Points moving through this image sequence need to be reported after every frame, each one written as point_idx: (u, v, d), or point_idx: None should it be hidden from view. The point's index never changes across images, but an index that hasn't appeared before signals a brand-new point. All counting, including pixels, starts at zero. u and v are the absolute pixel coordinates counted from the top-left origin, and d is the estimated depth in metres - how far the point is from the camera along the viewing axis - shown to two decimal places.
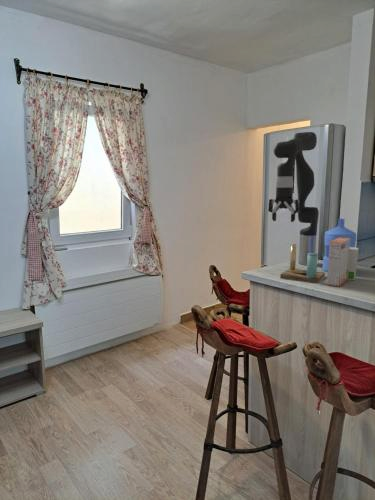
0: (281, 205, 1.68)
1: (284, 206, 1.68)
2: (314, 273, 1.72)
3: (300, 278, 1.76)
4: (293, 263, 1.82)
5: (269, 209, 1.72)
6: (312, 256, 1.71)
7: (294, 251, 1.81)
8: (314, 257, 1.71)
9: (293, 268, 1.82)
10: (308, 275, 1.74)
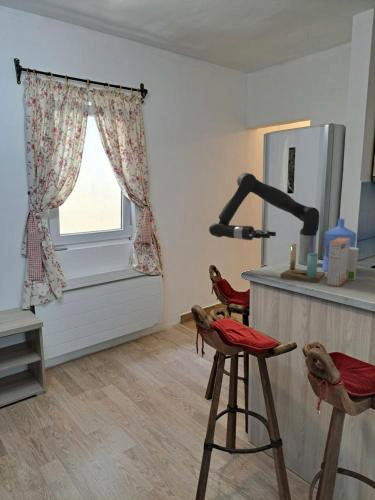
0: None
1: None
2: (314, 273, 1.72)
3: (300, 278, 1.76)
4: (293, 263, 1.82)
5: None
6: (312, 256, 1.71)
7: (294, 251, 1.81)
8: (314, 257, 1.71)
9: (293, 268, 1.82)
10: (308, 275, 1.74)
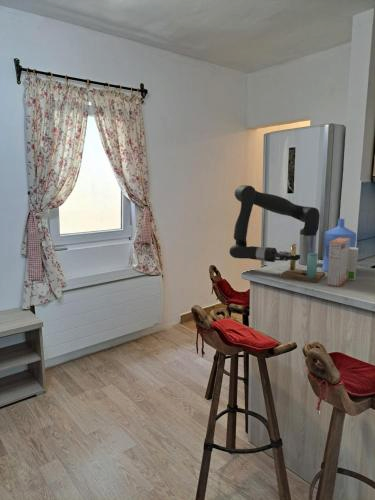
0: None
1: None
2: (314, 273, 1.72)
3: (300, 278, 1.76)
4: (293, 263, 1.82)
5: None
6: (312, 256, 1.71)
7: (294, 251, 1.81)
8: (314, 257, 1.71)
9: (293, 268, 1.82)
10: (308, 275, 1.74)
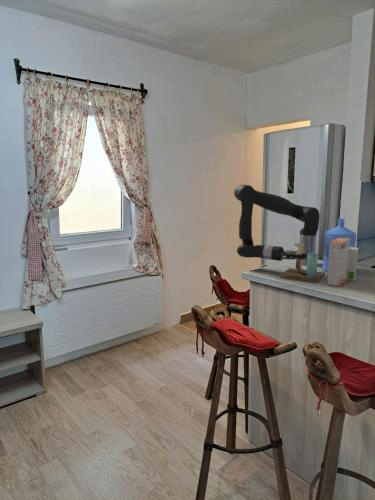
0: None
1: None
2: (314, 273, 1.72)
3: (300, 278, 1.76)
4: (297, 262, 1.85)
5: None
6: (312, 256, 1.71)
7: (298, 250, 1.84)
8: (314, 257, 1.71)
9: (297, 267, 1.85)
10: (308, 275, 1.74)
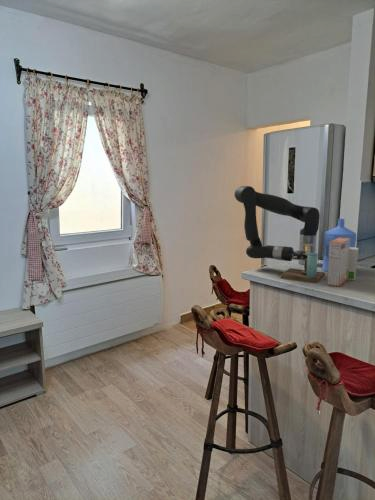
0: None
1: None
2: (314, 273, 1.72)
3: (300, 278, 1.76)
4: None
5: None
6: (312, 256, 1.71)
7: (305, 250, 1.84)
8: (314, 257, 1.71)
9: (304, 266, 1.86)
10: (308, 275, 1.74)
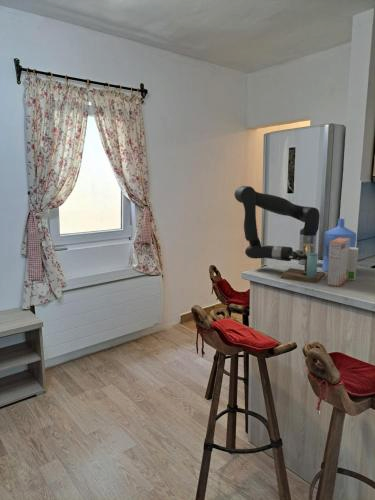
0: None
1: None
2: (314, 273, 1.72)
3: (300, 278, 1.76)
4: (305, 261, 1.85)
5: None
6: (312, 256, 1.71)
7: (306, 250, 1.84)
8: (314, 257, 1.71)
9: (305, 266, 1.86)
10: (308, 275, 1.74)
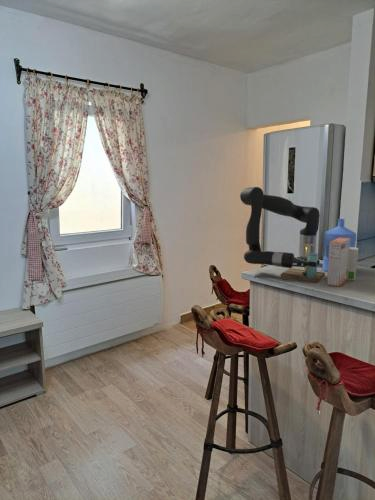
0: None
1: None
2: (314, 273, 1.72)
3: (300, 278, 1.76)
4: None
5: None
6: (312, 256, 1.71)
7: (306, 250, 1.84)
8: (314, 257, 1.71)
9: None
10: (308, 275, 1.74)
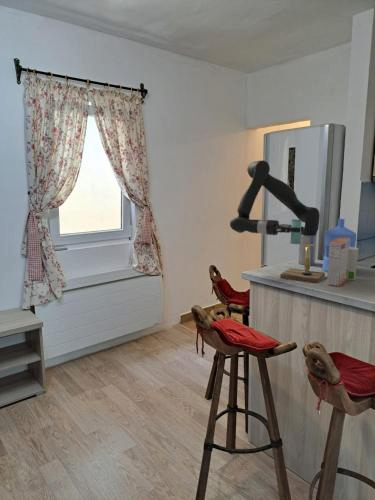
0: None
1: None
2: (298, 239, 1.74)
3: (300, 278, 1.76)
4: (305, 261, 1.85)
5: None
6: (296, 222, 1.73)
7: (306, 250, 1.84)
8: (298, 223, 1.73)
9: (305, 266, 1.86)
10: (292, 241, 1.75)
